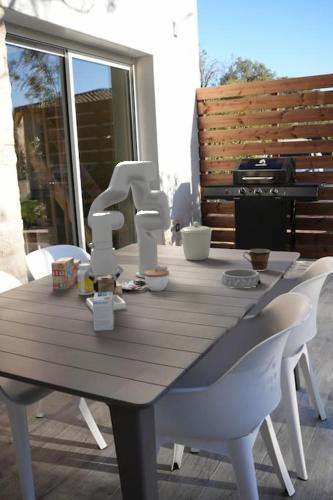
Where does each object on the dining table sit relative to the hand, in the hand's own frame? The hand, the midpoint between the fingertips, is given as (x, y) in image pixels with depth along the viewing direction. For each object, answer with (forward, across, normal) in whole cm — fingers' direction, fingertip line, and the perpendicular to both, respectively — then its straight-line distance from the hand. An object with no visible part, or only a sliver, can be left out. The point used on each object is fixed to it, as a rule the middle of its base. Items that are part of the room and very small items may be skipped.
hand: (105, 290), depth 198 cm
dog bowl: (+7, +64, +8) cm, 65 cm away
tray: (+6, 0, 0) cm, 6 cm away
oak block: (+7, +5, +12) cm, 15 cm away
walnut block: (+1, 0, 0) cm, 1 cm away
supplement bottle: (+7, -3, +23) cm, 24 cm away
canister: (+6, +69, +68) cm, 97 cm away
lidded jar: (+7, +27, +16) cm, 32 cm away
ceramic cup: (+6, +84, +27) cm, 88 cm away
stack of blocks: (+7, -7, +46) cm, 47 cm away
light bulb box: (+7, -6, -22) cm, 24 cm away
